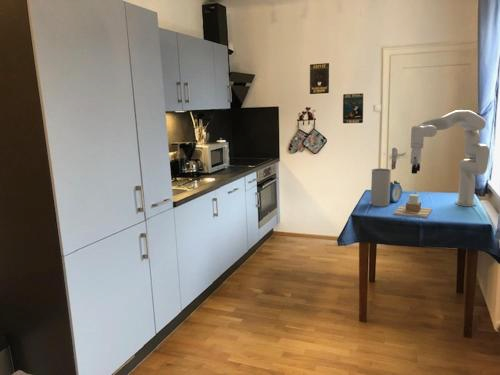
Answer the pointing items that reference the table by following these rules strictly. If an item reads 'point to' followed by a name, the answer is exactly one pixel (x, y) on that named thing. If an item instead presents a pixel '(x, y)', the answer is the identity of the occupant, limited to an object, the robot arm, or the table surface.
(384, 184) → the cylinder vase
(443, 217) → the table surface
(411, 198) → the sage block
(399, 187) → the alarm clock
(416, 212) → the build board
